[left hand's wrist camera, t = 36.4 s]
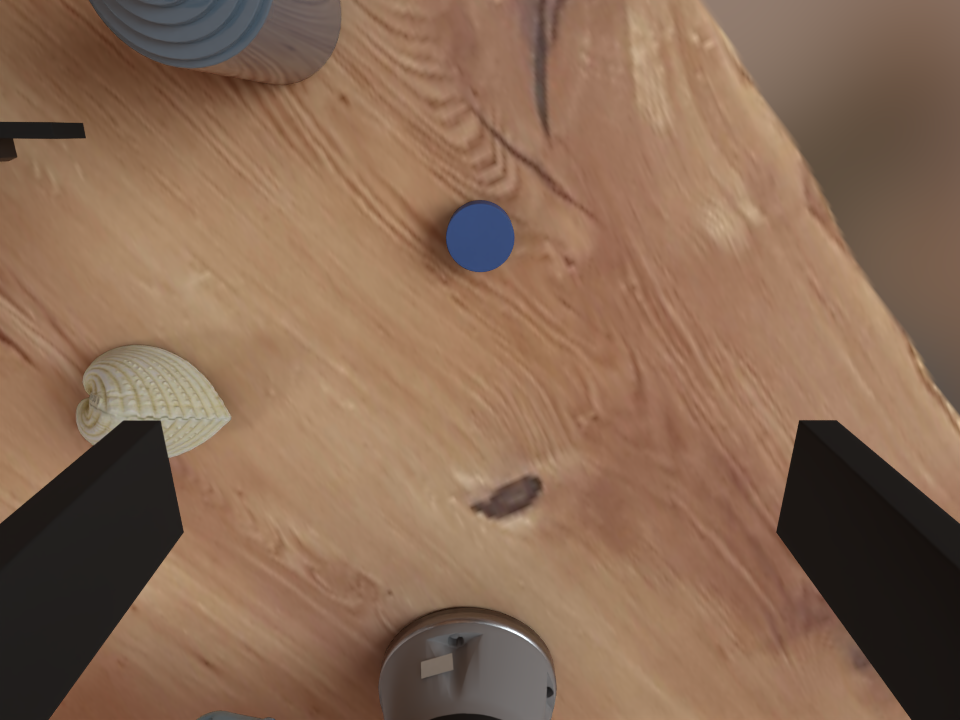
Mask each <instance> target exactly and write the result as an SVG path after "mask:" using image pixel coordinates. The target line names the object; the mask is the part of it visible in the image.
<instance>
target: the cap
mask: <svg viewBox="0 0 960 720" xmlns="http://www.w3.org/2000/svg"><path fill="white" fill-rule="evenodd" d="M446 243H447V247H448V250H449V253H450V255H451V256H452V258H453V259H454V260H455V261H456V262H457V263H458V264H459V265H460V266H462V267H463V268H465V269H467V270H470V271H474V272H486V271H490V270H493V269H495V268H497V267H499V266H500V265H502V264H503V263H504V262H505V261H506V260H507V258H508V257H509V255H510V253H511V251H512V249H513V245H514V230H513V227H512V224H511V221H510V219H509V217H508V215H507V214H506V212H505V211H504V210H503V209H502V208H501V207H499V206H498V205H496V204H494V203H492V202H489V201H484V200H476V201H471V202H468V203H466V204H464V205H463V206H461V207H460V208H459V209H458V210H457V211H456V212H455V213H454V214H453V216H452V217H451V220H450V222H449V225H448V228H447V233H446Z"/></svg>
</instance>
